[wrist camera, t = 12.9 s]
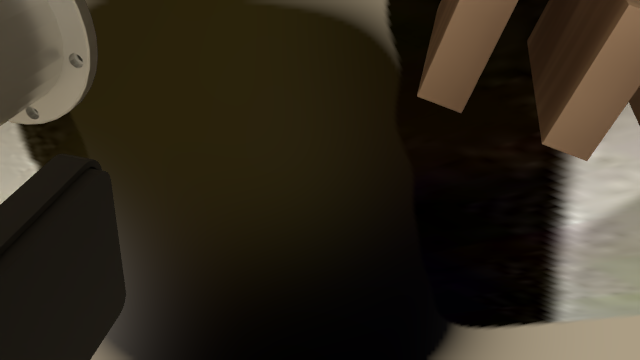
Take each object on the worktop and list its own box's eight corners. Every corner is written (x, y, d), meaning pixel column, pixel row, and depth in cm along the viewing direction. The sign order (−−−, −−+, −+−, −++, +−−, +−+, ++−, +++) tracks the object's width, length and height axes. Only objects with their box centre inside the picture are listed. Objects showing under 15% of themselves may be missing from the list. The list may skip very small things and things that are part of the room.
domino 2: (527, 41, 28) (542, 143, 20) (584, -65, 25) (629, 4, 17) (558, 52, 28) (586, 160, 20) (619, -53, 25) (682, 24, 17)
